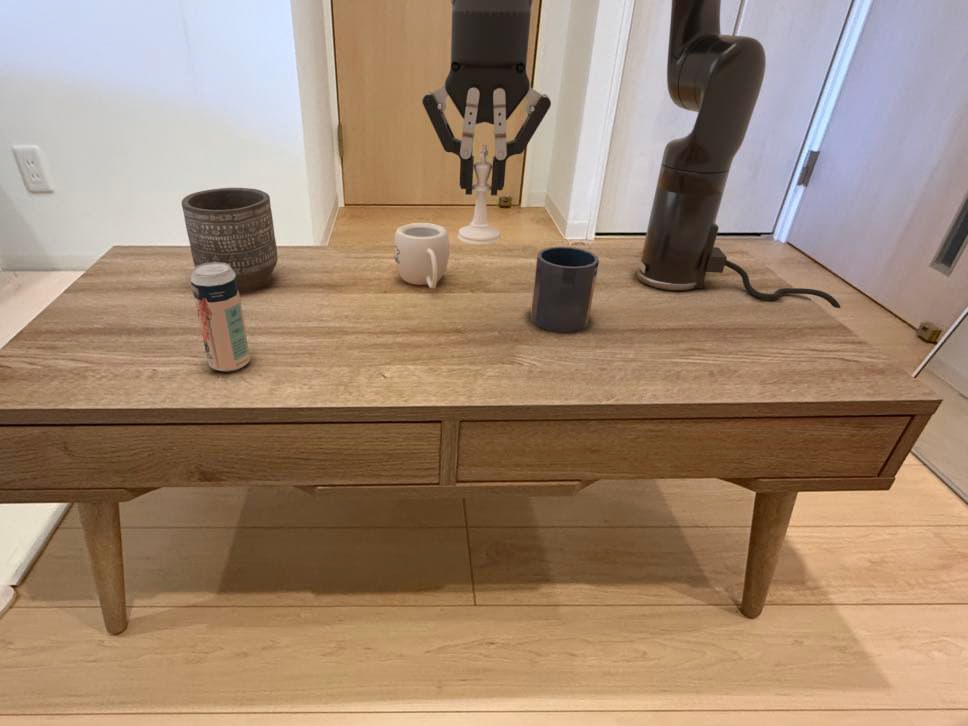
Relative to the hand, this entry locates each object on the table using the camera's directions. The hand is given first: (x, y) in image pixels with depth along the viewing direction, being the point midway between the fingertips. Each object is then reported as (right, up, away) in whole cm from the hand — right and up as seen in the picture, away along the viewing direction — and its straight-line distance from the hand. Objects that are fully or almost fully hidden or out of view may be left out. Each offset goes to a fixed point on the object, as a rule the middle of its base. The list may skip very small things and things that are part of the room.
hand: (481, 192), depth 67 cm
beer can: (-30, -19, +6) cm, 36 cm away
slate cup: (+12, -12, +17) cm, 24 cm away
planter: (-35, -5, +26) cm, 44 cm away
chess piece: (0, -4, +3) cm, 5 cm away
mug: (-6, -5, +27) cm, 28 cm away
